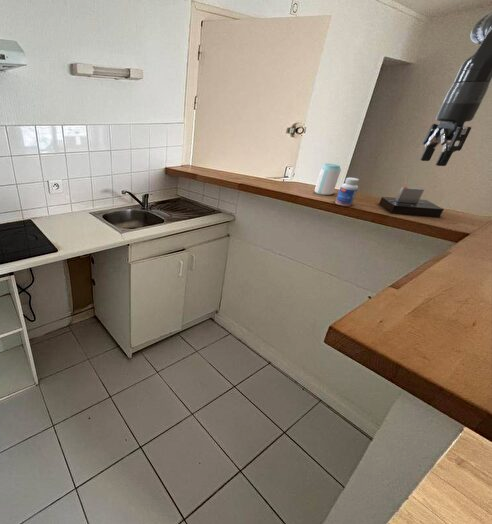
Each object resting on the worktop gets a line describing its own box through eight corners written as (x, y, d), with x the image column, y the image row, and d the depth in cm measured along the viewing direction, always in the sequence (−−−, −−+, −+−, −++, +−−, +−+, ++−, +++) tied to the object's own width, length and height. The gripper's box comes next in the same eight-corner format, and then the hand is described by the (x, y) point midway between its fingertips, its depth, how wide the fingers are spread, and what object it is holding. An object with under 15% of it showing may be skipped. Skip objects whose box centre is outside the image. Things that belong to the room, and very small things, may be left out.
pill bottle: (333, 203, 110) (341, 178, 105) (337, 201, 113) (346, 176, 108) (349, 207, 106) (358, 181, 101) (353, 204, 109) (362, 178, 104)
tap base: (422, 207, 105) (426, 199, 104) (439, 217, 96) (444, 208, 94) (378, 204, 109) (382, 196, 107) (391, 213, 100) (394, 205, 98)
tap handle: (414, 202, 101) (422, 187, 99) (417, 203, 100) (424, 188, 97) (395, 200, 103) (401, 186, 100) (397, 202, 101) (404, 187, 99)
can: (320, 190, 126) (328, 162, 120) (336, 194, 121) (345, 165, 115) (310, 192, 123) (319, 164, 117) (326, 196, 118) (336, 167, 112)
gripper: (499, 101, 70) (462, 168, 78) (462, 101, 82) (434, 159, 90) (461, 101, 72) (429, 167, 80) (431, 101, 84) (406, 158, 92)
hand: (432, 163), depth 85 cm, fingers open, 8 cm apart
